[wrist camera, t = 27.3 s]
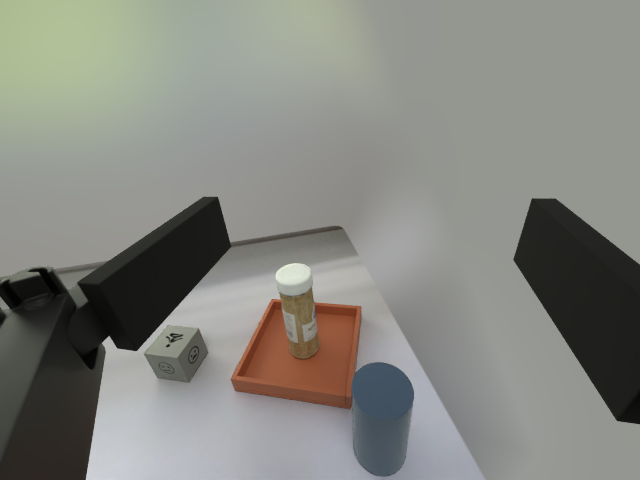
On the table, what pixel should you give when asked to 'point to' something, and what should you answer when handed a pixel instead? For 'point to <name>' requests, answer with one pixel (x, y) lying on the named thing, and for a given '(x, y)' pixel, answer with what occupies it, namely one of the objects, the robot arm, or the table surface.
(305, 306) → the spice jar
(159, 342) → the dice cube
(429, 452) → the table surface
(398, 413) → the blue can
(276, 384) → the tray
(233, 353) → the table surface
